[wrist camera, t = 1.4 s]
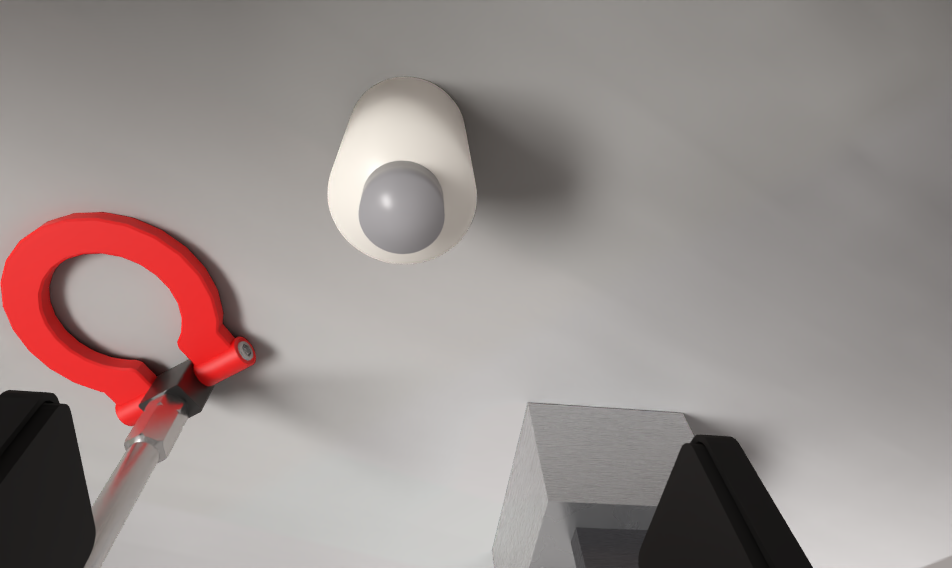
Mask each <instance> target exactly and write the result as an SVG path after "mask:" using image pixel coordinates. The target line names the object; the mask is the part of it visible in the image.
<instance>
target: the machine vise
mask: <svg viewBox="0 0 952 568" xmlns="http://www.w3.org/2000/svg"><path fill="white" fill-rule="evenodd" d="M693 437H695V436H694V434H693V433H692V431H691V429H690V427H689V425H688V423H687V421H686V419H685V417H684V415H683V413H673V412H657V411H642V410H627V409H612V408H597V407H582V406H567V405H552V404H537V403H528V404H527V408H526V412H525V417H524V421H523V425H522V429H521V433H520V437H519V441H518V446H517V450H516V454H515V458H514V462H513V466H512V470H511V475H510V479H509V483H508V487H507V491H506V495H505V499H504V503H503V508H502V512H501V516H500V520H499V524H498V528H497V532H496V537H495V541H494V545H493V549H492V551H493V561H494V568H639V565H638V557H639V551H640V548H641V545H642V543H643V540H644V538H645V535H646V533H647V530H648V528H649V526H650V523H651V521H652V518H653V516H654V513H655V511H656V508H657V506H658V503H659V501H660V498H661V496H662V493H663V491H664V488H665V486H666V484H667V481H668V479H669V476H670V474H671V471H672V469H673V466H674V464H675V461H676V459H677V456H678V454H679V451H680V449H681V447H682V445H683V444H685V443H690V442H691V441H692V439H693Z"/></svg>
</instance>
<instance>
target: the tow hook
mask: <svg viewBox="0 0 952 568" xmlns="http://www.w3.org/2000/svg"><path fill="white" fill-rule="evenodd" d="M99 253H103V254H108V255H114V256H119V257H123V258H125V259H128V260H130V261H133V262H135V263H138V264H140V265H142V266H143V267H145V268H146V269H148V270H149V271H151V272H152V273H154V274H155V275H156V276H157V277H158V278H159V279H160V280H161V281H162V282H163V283H164V284H165V285H166V286H167V287H168V288H169V289H170V291H171V293H172V294H173V296H174V298H175V299H176V301H177V303H178V306H179V309H180V313H181V317H182V327H181V334H180V337H179V339H178V342H177V343H178V347H179V349H180V350H181V351H182V352H183V353H184V354H185V355H186V356H187V357H188V358H189V360H187V361H185V362H183V363H181V364H179V365H177V366H175V367H174V368H172V369H170V370H168V371H166V372H164V373H162V374H160V375H159V376H158V377H157V376H156V375H155V374H154V373H153V372H152V371H151V370H150V369H149V368H148V367H147V366H146V365H145V364H144V363H143V362H141V361H138V360H125V359H119V358H113V357H109V356H106V355H104V354H101V353H98V352H95V351H93V350H92V349H90V348H88V347H87V346H85V345H83V344H82V343H80V342H78V341H77V340H76V339H75V338H74V337H73V336H72V335H71V334H69V333H68V332H67V331H66V330H65V328H64V327H63V326H62V324H61V323H60V321H59V320H58V319H57V317H56V315H55V313H54V310H53V308H52V305H51V302H50V292H49V285H50V282H51V278H52V275H53V272H54V271H55V270H56V268H57V267H58V266H59V264H60V263H62V262H63V261H65V260H66V259H69V258H72V257H76V256H79V255H82V254H99ZM1 292H2V302H3V307H4V310H5V312H6V314H7V317H8V319H9V322H10V324H11V326H12V329H13V330H14V332H15V333H16V334H17V336H18V337H19V338H20V340H21V341H22V342H23V343H24V345H25V346H26V347H27V349H28V350H29V351H30V352H31V353H32V354H33V355H35V356H36V357H37V358H38V359H39V360H40V361H42V362H43V363H44V364H45V365H46V366H47V367H49V368H50V369H51V370H53V371H55V372H57V373H58V374H60V375H62V376H64V377H65V378H67V379H69V380H71V381H72V382H74V383H77V384H80V385H83V386H86V387H88V388H91V389H94V390H97V391H100V392H104V393H105V394H106V395H107V396H108V397H110V398H111V399H112V400H113V401H114V402H115V403H116V407H115V409H116V414H117V416H118V418H119V419H120V421H121V422H122V423H124V424H125V425H128V426H134V427H133V428H132V430H131V432H130V433H129V435H128V436H127V438H126V440H125V443H124V446H125V450H126V452H125V454H124V456H123V457H122V459H121V460H120V462H119V464H118V465H117V467H116V469H115V470H114V472H113V473H112V475H111V477H110V478H109V480H108V482H107V483H106V485H105V486H104V488H103V490H102V491H101V493H100V495H99V496H98V498H97V500H96V501H95V503H94V504H93V506H92V508H91V509H92V513H93V518H94V523H95V528H96V537H95V542H94V546H93V549H92V552H91V554H90V557H89V558H88V560H87V562H86V564H85V566H84V568H101V566H102V564H103V562H104V560H105V558H106V557H107V555H108V553H109V551H110V549H111V547H112V546H113V544H114V542H115V540H116V538H117V536H118V534H119V533H120V531H121V529H122V527H123V525H124V523H125V521H126V520H127V518H128V516H129V514H130V512H131V510H132V509H133V507H134V505H135V503H136V501H137V499H138V497H139V496H140V494H141V492H142V490H143V488H144V486H145V484H146V483H147V481H148V479H149V477H150V475H151V473H152V471H153V470H154V468H155V466H156V464H157V463H159V462H161V461H163V460H165V459H166V458H167V457H168V455H169V454H170V452H171V450H172V448H173V446H174V444H175V442H176V440H177V438H178V436H179V435H180V433H181V431H182V428H183V426H184V425H185V423H186V421H187V419H188V418H190V417H192V416H194V415H196V414H198V413H200V412H201V411H202V409H203V407H204V405H205V403H206V401H207V399H208V397H209V395H210V393H211V391H212V389H213V387H214V385H215V384H217V383H219V382H220V381H222V380H224V379H226V378H228V377H230V376H232V375H234V374H236V373H238V372H240V371H242V370H244V369H246V368H248V367H250V366H252V365H253V364H254V363H255V361H256V354H255V351H254V349H253V347H252V345H251V344H250V342H249V341H248V340H247V339H245V338H243V337H237V338H234V336H233V335H232V334H231V333H230V332H229V331H228V330H227V329H226V327H225V326H224V325H223V310H222V305H221V301H220V297H219V293H218V290H217V288H216V286H215V284H214V282H213V281H212V279H211V277H210V275H209V273H208V272H207V270H206V268H205V267H204V266H203V265H202V264H201V262H200V261H199V260H198V259H197V258H196V257H195V256H194V255H193V254H192V253H191V252H190V251H189V249H188V248H187V247H186V246H184V245H183V244H181V243H180V242H178V241H177V240H175V239H174V238H173V237H171V236H170V235H168V234H167V233H165V232H164V231H163V230H161V229H158V228H156V227H154V226H151V225H149V224H147V223H144V222H142V221H140V220H137V219H135V218H132V217H127V216H121V215H116V214H111V213H106V212H93V213H73V214H70V215H67V216H64V217H60V218H57V219H54V220H51V221H48V222H46V223H45V224H43V225H42V226H41V227H39V228H38V229H36V230H35V231H33V232H32V233H30V234H29V235H28V236H26V237H25V238H23V239H22V240H20V241H19V243H18V244H17V245H16V247H15V248H14V250H13V251H12V253H11V254H10V255H9V257H8V258H7V260H6V262H5V266H4V271H3V275H2V279H1Z"/></svg>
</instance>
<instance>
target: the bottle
mask: <svg viewBox="0 0 952 568" xmlns="http://www.w3.org/2000/svg"><path fill="white" fill-rule="evenodd" d="M328 204H329V209H330V212H331V215H332V218H333V220H334V222H335V224H336V226H337V228H338V229H339V231H340V232H341V234H342V235H343V236H344V237H345V239H346V240H347V241H348V242H349V243H350V244H352V245H353V246H354V247H355V248H356V249H358V250H359V251H361V252H362V253H364V254H366V255H368V256H370V257H372V258H374V259H377V260H380V261H383V262H387V263H393V264H416V263H421V262H426V261H429V260H432V259H434V258H436V257H439V256H441V255H443V254H444V253H446V252H447V251H449V250H450V249H451V248H453V247H454V246H455V245H456V244H457V243H458V242H459V241H460V240H461V239H462V238H463V236H464V235H465V234H466V232H467V231H468V229H469V227H470V225H471V223H472V221H473V218H474V215H475V211H476V205H477V189H476V183H475V178H474V172H473V167H472V162H471V156H470V151H469V145H468V140H467V134H466V129H465V124H464V120H463V117H462V114H461V112H460V110H459V108H458V106H457V105H456V103H455V102H454V100H453V99H452V98H451V97H450V96H449V95H448V94H447V93H446V92H445V91H444V90H443V89H441V88H440V87H438V86H437V85H435V84H433V83H431V82H429V81H426V80H423V79H420V78H415V77H396V78H391V79H387V80H385V81H382V82H380V83H378V84H376V85H374V86H373V87H371V88H370V89H369V90H368V91H366V92H365V93H364V94H363V95H362V97H361V98H360V99H359V100H358V102H357V104H356V105H355V107H354V109H353V112H352V114H351V117H350V120H349V122H348V125H347V128H346V131H345V134H344V137H343V140H342V142H341V145H340V148H339V151H338V154H337V157H336V160H335V162H334V165H333V168H332V171H331V174H330V178H329V182H328Z"/></svg>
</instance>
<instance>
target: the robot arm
mask: <svg viewBox="0 0 952 568" xmlns="http://www.w3.org/2000/svg"><path fill="white" fill-rule="evenodd" d="M95 537H96V528H95V523H94V518H93V513H92V509H91V504H90V499H89V495H88V490H87V485H86V480H85V476H84V471H83V466H82V462H81V457H80V452H79V447H78V443H77V438H76V433H75V429H74V424H73V419H72V415H71V411H70V408H69V406H68V405H67V404H60V403H59V401H58V398H57V396H56V395H55V394H54V393H47V392H31V391H16V390H8V391H5V392H3V393H2V394H1V395H0V568H84V566H85V564H86V562H87V560H88V558H89V557H90V554H91V552H92V549H93V546H94V542H95ZM638 565H639V568H813V567H812V565H811V564H810V562H809V560H808V559H807V557H806V555H805V554H804V552H803V550H802V548H801V547H800V545H799V543H798V542H797V540H796V538H795V537H794V535H793V534H792V532H791V530H790V528H789V527H788V525H787V523H786V522H785V520H784V518H783V517H782V515H781V513H780V512H779V510H778V508H777V507H776V505H775V503H774V502H773V500H772V498H771V497H770V495H769V493H768V491H767V490H766V488H765V486H764V485H763V483H762V481H761V480H760V478H759V476H758V475H757V473H756V471H755V470H754V468H753V466H752V465H751V463H750V461H749V460H748V458H747V456H746V454H745V453H744V451H743V449H742V448H741V446H740V444H739V443H738V442H737V441H736V439H734V438H732V437H728V436H712V435H696V436H695V437H693V439H692V441H691V442H690V443H685V444H683V445H682V447H681V449H680V451H679V454H678V456H677V459H676V461H675V464H674V466H673V469H672V471H671V474H670V476H669V479H668V481H667V484H666V486H665V488H664V491H663V493H662V496H661V498H660V501H659V503H658V506H657V508H656V511H655V513H654V516H653V518H652V521H651V523H650V526H649V528H648V530H647V533H646V535H645V538H644V540H643V543H642V545H641V548H640V551H639V557H638Z"/></svg>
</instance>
